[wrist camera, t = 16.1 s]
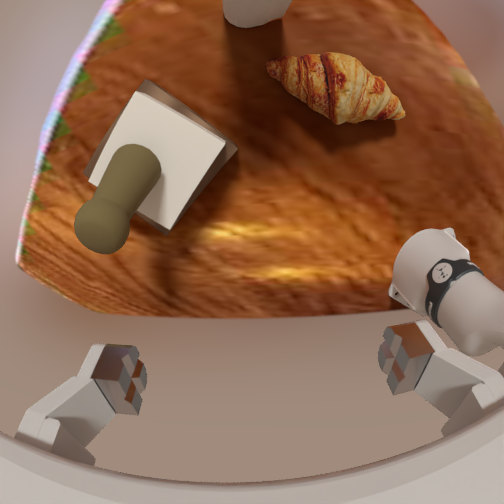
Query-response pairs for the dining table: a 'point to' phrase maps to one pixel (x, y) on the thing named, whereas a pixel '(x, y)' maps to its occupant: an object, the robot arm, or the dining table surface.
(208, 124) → the tower base block
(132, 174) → the olive green pawn
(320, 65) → the croissant
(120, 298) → the dining table surface
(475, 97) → the dining table surface
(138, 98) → the tower top block
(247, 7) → the paper towel roll
